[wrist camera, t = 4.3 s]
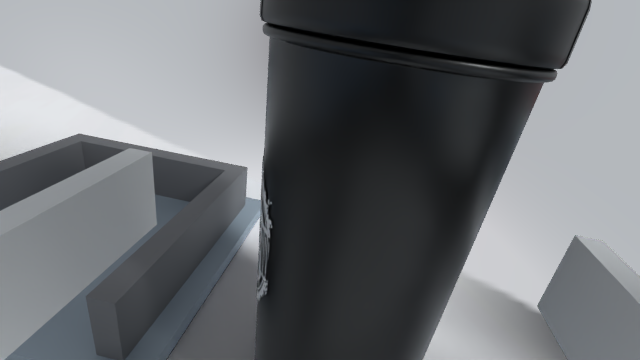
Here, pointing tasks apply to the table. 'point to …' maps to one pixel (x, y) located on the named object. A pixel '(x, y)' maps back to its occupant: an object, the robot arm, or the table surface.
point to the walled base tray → (139, 252)
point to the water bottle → (388, 160)
